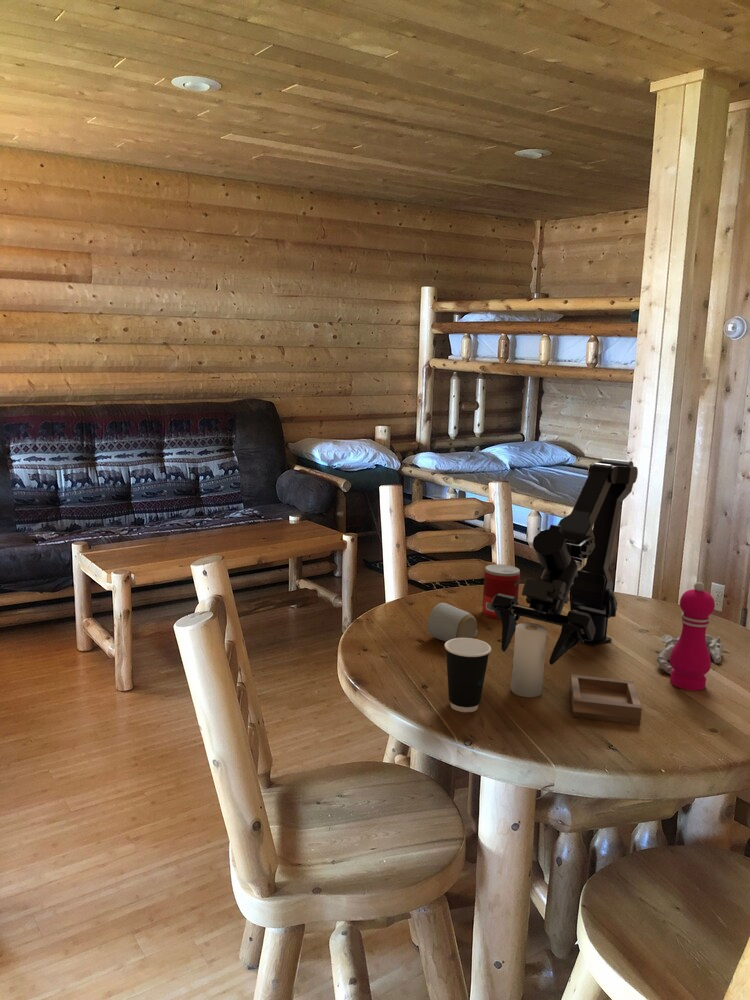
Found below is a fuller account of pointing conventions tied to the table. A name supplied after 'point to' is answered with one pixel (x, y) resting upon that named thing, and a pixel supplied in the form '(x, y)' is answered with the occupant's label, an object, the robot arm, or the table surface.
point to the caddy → (604, 699)
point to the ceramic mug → (451, 623)
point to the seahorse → (712, 644)
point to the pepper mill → (692, 640)
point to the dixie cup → (466, 672)
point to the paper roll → (528, 659)
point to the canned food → (499, 585)
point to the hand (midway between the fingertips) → (526, 657)
